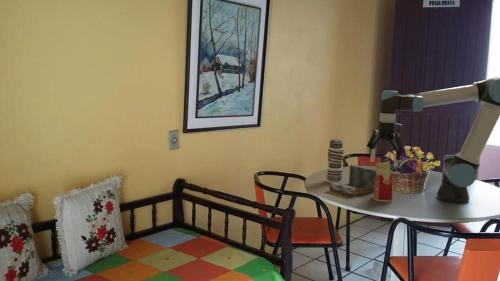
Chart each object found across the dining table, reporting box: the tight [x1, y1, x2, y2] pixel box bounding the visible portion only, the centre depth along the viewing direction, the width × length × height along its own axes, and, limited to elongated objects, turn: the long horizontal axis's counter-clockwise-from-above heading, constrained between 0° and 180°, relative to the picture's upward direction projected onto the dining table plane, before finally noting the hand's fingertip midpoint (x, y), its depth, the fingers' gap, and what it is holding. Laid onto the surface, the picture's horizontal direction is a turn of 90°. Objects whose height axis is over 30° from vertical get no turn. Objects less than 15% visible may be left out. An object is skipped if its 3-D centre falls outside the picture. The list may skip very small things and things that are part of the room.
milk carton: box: [372, 160, 394, 203], centre depth 218 cm, size 9×9×20 cm
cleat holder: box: [328, 164, 377, 198], centre depth 233 cm, size 16×19×12 cm
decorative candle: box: [326, 138, 345, 184], centre depth 253 cm, size 9×9×25 cm
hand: (383, 163), depth 217 cm, fingers open, 13 cm apart
